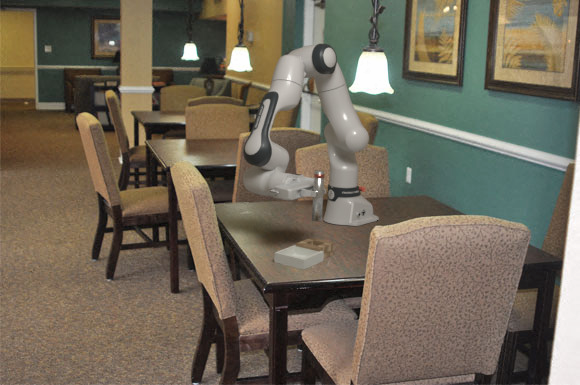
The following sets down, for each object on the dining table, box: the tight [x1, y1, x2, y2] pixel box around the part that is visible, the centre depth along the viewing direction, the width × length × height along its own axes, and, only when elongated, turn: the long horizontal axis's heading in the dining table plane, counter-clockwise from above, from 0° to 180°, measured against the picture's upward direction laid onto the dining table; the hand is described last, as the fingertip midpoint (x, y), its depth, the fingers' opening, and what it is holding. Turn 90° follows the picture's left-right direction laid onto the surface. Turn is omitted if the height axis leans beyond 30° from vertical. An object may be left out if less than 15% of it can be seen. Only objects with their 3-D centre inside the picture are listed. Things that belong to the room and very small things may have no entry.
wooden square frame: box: [295, 237, 335, 260], centre depth 212 cm, size 9×9×4 cm
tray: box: [273, 244, 324, 271], centre depth 205 cm, size 11×11×3 cm
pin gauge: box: [311, 169, 326, 222], centre depth 210 cm, size 3×3×16 cm
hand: (320, 193), depth 209 cm, fingers closed on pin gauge, 3 cm apart
